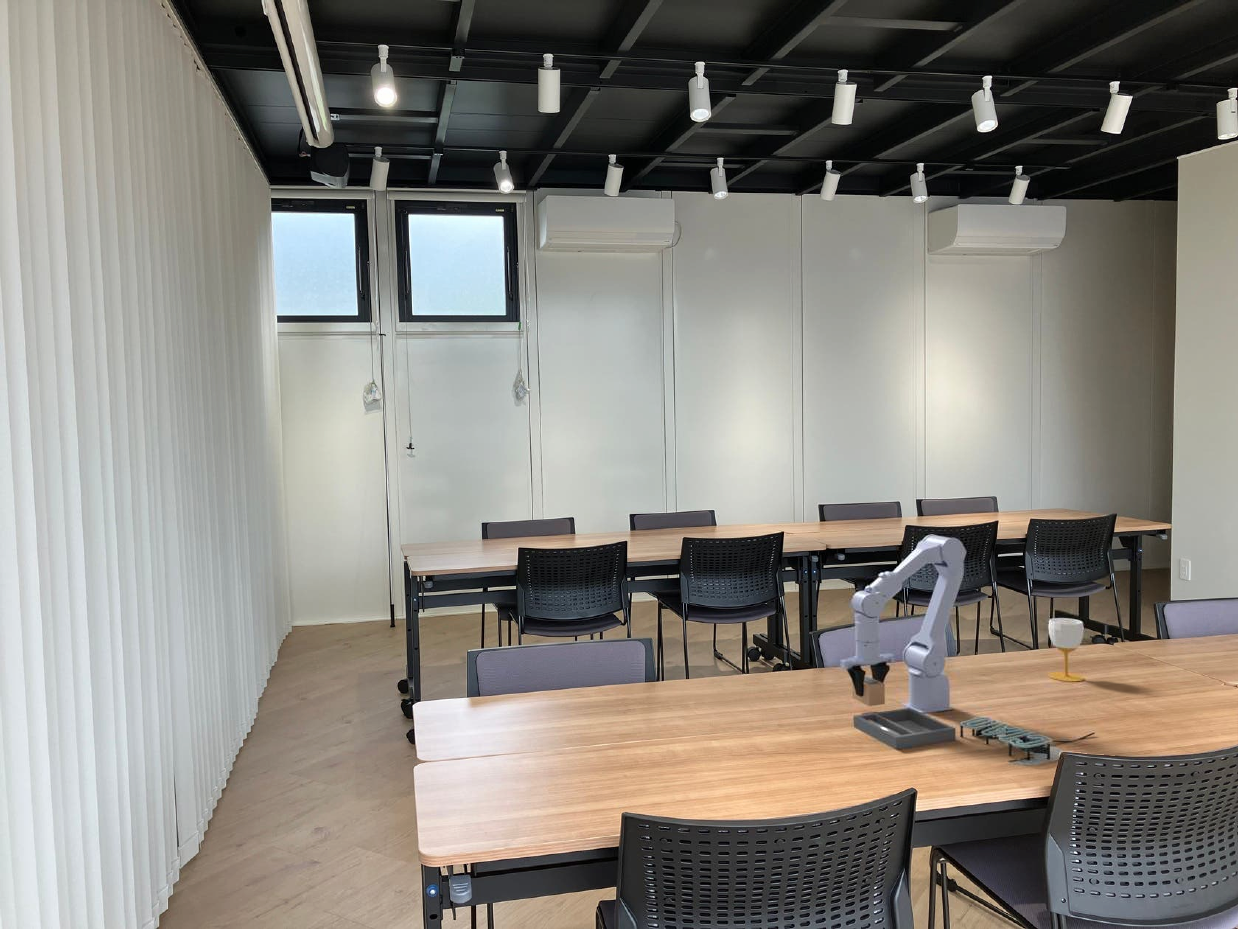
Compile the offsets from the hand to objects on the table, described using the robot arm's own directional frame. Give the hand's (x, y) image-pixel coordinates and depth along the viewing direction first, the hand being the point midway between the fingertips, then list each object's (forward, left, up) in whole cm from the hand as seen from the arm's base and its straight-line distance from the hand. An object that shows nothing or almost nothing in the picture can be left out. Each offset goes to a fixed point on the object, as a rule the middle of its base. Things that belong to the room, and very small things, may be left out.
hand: (868, 694), depth 212 cm
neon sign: (-23, +28, -6) cm, 37 cm away
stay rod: (+6, +15, -5) cm, 17 cm away
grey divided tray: (+1, +15, -5) cm, 16 cm away
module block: (0, 0, -2) cm, 2 cm away
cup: (-70, -6, -5) cm, 70 cm away
